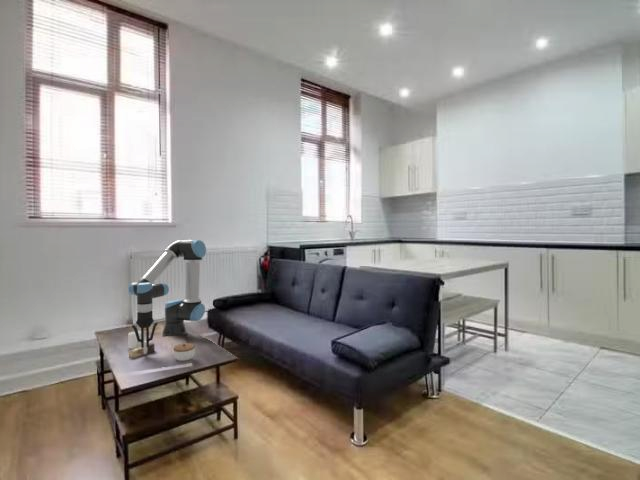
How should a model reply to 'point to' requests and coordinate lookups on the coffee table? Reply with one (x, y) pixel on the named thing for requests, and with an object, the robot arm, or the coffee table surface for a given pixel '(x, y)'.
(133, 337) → the mug
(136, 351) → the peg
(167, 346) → the coffee table surface
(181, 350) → the lidded jar
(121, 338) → the coffee table surface
